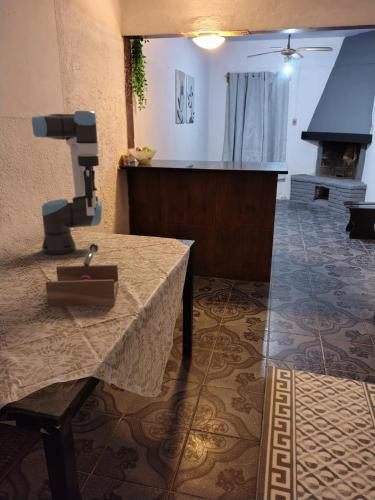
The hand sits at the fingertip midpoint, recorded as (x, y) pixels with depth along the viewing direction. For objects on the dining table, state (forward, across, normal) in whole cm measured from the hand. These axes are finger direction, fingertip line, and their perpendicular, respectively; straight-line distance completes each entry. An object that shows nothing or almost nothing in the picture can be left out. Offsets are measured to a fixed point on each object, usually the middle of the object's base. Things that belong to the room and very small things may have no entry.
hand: (91, 211), depth 147 cm
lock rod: (+16, +11, -1) cm, 19 cm away
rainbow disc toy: (+24, +27, -2) cm, 36 cm away
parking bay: (+23, +27, -2) cm, 36 cm away
